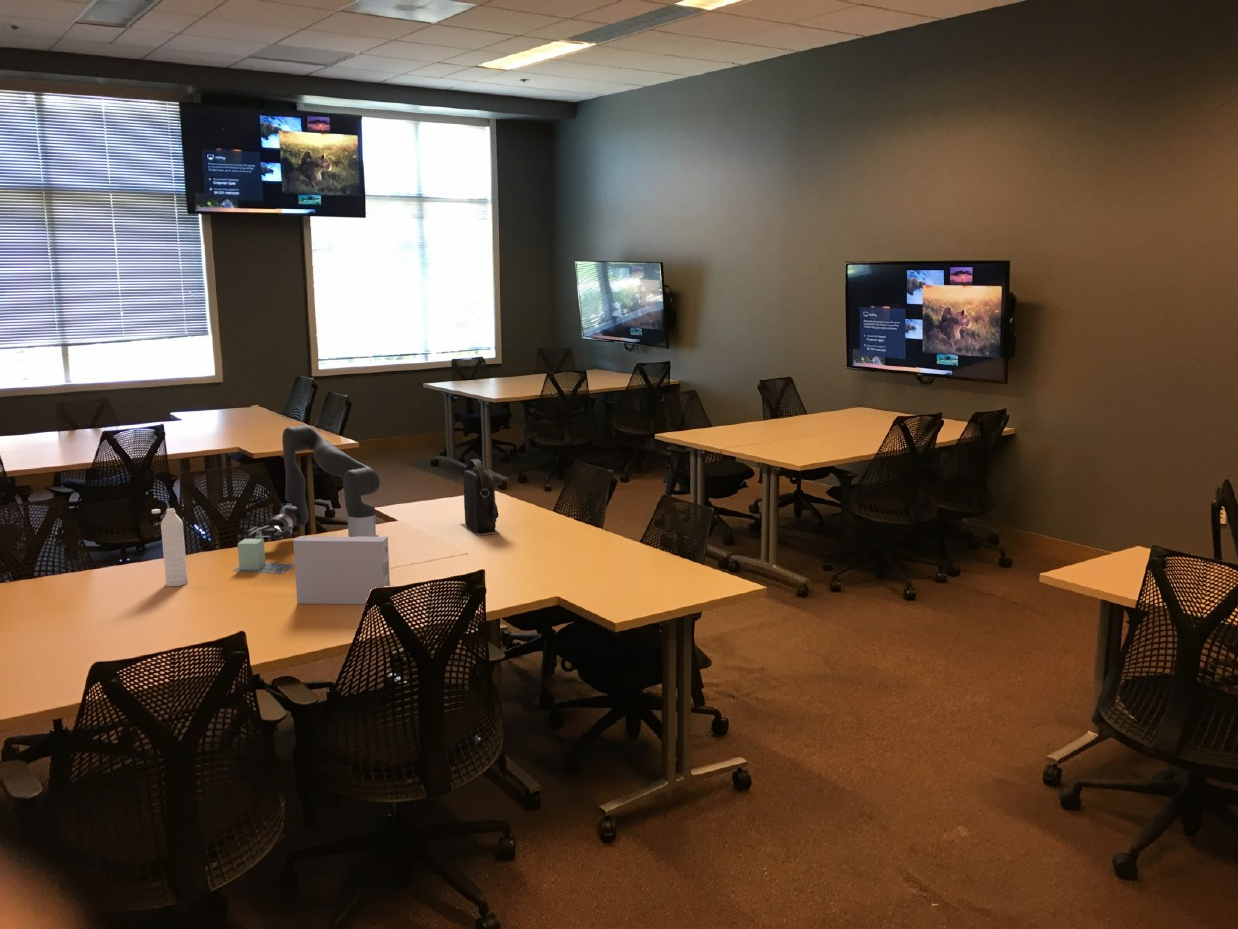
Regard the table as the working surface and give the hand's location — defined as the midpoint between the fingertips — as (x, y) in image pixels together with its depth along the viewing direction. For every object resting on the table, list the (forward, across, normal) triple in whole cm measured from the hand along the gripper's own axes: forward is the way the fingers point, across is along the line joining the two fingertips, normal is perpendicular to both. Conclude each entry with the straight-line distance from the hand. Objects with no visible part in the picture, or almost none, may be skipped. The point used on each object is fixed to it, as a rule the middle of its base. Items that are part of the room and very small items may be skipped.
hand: (262, 537), depth 343 cm
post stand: (+12, +4, +9) cm, 15 cm away
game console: (+42, +40, +9) cm, 59 cm away
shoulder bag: (-48, +68, +9) cm, 84 cm away
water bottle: (+26, -20, +9) cm, 34 cm away
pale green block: (+11, 0, +7) cm, 13 cm away
